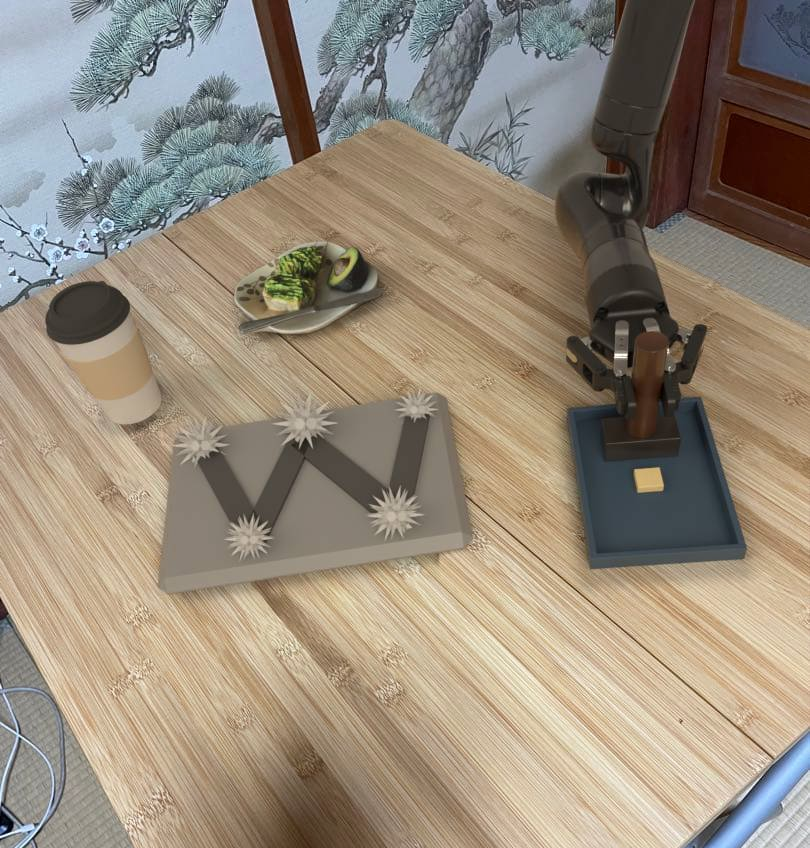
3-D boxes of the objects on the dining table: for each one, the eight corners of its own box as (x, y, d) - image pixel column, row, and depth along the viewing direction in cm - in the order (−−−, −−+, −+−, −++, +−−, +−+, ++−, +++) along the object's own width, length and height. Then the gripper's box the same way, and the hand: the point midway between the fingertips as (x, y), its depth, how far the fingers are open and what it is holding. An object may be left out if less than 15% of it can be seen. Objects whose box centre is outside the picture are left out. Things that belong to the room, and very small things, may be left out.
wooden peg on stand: (600, 436, 84) (607, 332, 73) (671, 430, 83) (689, 324, 73) (604, 461, 82) (613, 358, 71) (678, 456, 81) (697, 350, 71)
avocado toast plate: (279, 371, 98) (269, 340, 95) (203, 310, 108) (191, 280, 104) (404, 293, 104) (399, 261, 101) (321, 242, 114) (314, 211, 110)
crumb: (633, 474, 80) (633, 468, 79) (658, 472, 80) (659, 466, 79) (637, 493, 79) (637, 487, 78) (663, 491, 78) (664, 485, 78)
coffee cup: (111, 443, 94) (49, 336, 83) (85, 401, 99) (24, 295, 88) (183, 406, 97) (133, 298, 85) (154, 367, 102) (103, 260, 90)
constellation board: (162, 604, 79) (133, 559, 74) (179, 445, 93) (156, 397, 87) (475, 555, 78) (470, 505, 72) (446, 401, 91) (439, 349, 86)
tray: (566, 425, 87) (567, 407, 85) (697, 414, 85) (701, 396, 83) (589, 575, 75) (590, 559, 73) (742, 565, 73) (747, 548, 71)
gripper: (554, 269, 83) (573, 386, 72) (699, 254, 81) (740, 372, 71) (553, 330, 89) (570, 447, 78) (688, 317, 87) (725, 435, 77)
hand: (651, 410), depth 75 cm, fingers closed on wooden peg on stand, 3 cm apart
